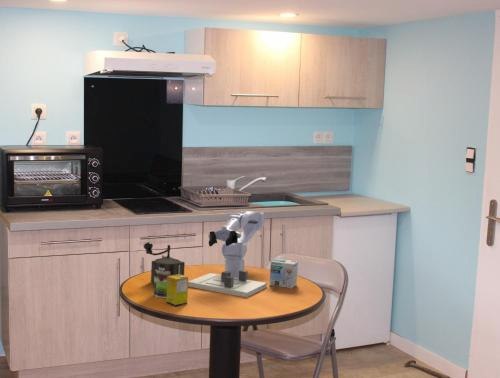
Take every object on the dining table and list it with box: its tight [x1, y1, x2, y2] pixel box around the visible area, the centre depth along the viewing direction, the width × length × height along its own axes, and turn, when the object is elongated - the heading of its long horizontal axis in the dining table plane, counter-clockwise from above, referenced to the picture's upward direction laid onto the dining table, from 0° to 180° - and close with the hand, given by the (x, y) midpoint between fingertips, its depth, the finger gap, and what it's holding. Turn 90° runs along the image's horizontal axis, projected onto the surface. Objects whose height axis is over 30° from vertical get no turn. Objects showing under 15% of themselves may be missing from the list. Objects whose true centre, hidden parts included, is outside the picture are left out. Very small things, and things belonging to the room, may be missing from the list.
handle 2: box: [239, 269, 249, 281], centre depth 308 cm, size 2×3×4 cm
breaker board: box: [188, 272, 268, 298], centre depth 305 cm, size 19×28×2 cm
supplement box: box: [166, 274, 189, 308], centre depth 276 cm, size 6×6×11 cm
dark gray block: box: [220, 270, 230, 282], centre depth 305 cm, size 2×3×4 cm
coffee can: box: [153, 257, 181, 299], centre depth 287 cm, size 10×10×14 cm
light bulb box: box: [269, 258, 299, 289], centre depth 312 cm, size 11×7×11 cm, turn 68°
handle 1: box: [224, 276, 234, 288], centre depth 297 cm, size 2×3×4 cm
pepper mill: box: [143, 242, 186, 284], centre depth 304 cm, size 16×11×18 cm
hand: (218, 244), depth 300 cm, fingers open, 7 cm apart
